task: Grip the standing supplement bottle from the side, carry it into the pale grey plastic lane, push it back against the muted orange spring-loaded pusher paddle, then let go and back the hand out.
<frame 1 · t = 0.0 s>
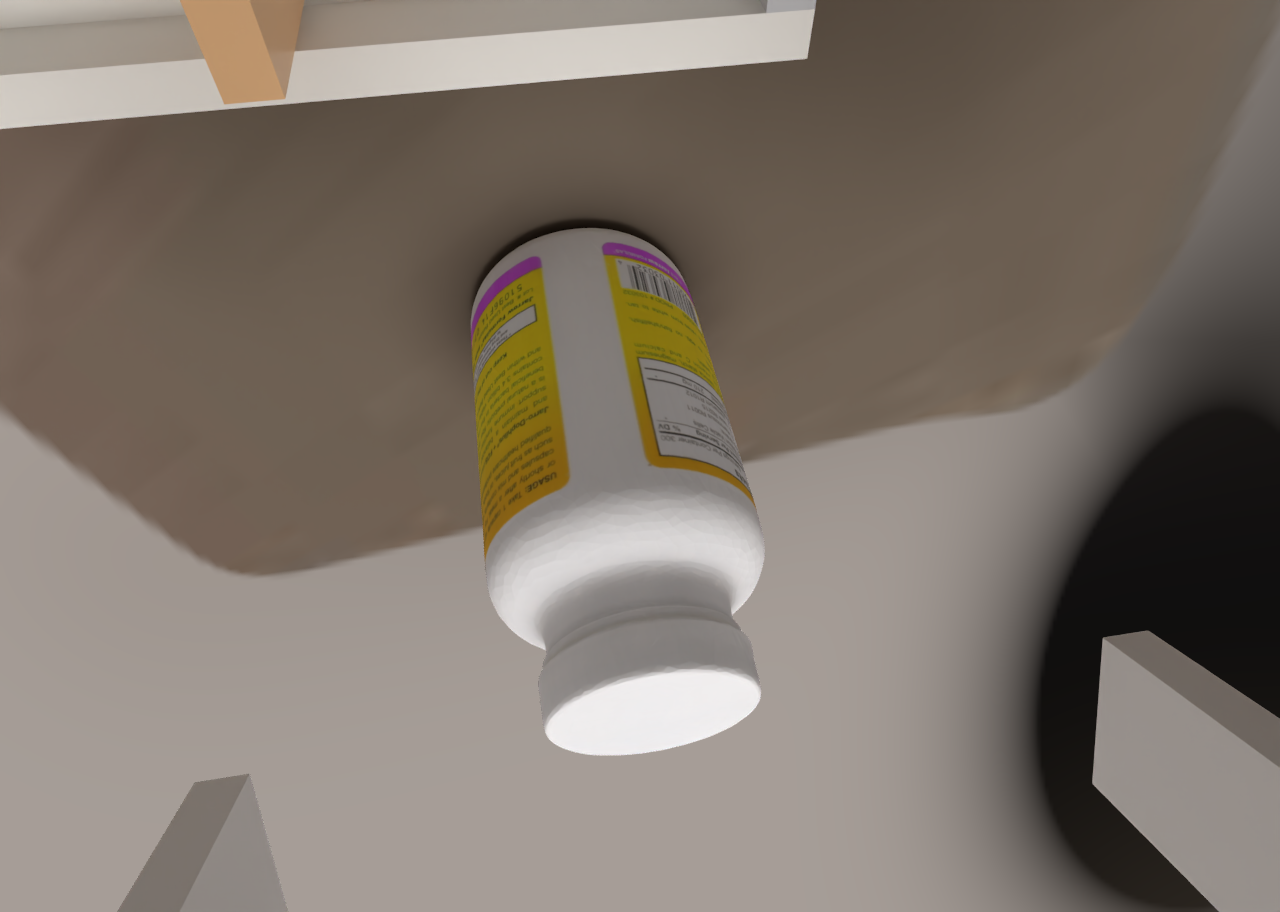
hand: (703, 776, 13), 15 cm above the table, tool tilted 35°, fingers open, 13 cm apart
supplement bottle: (580, 303, 25), on the table
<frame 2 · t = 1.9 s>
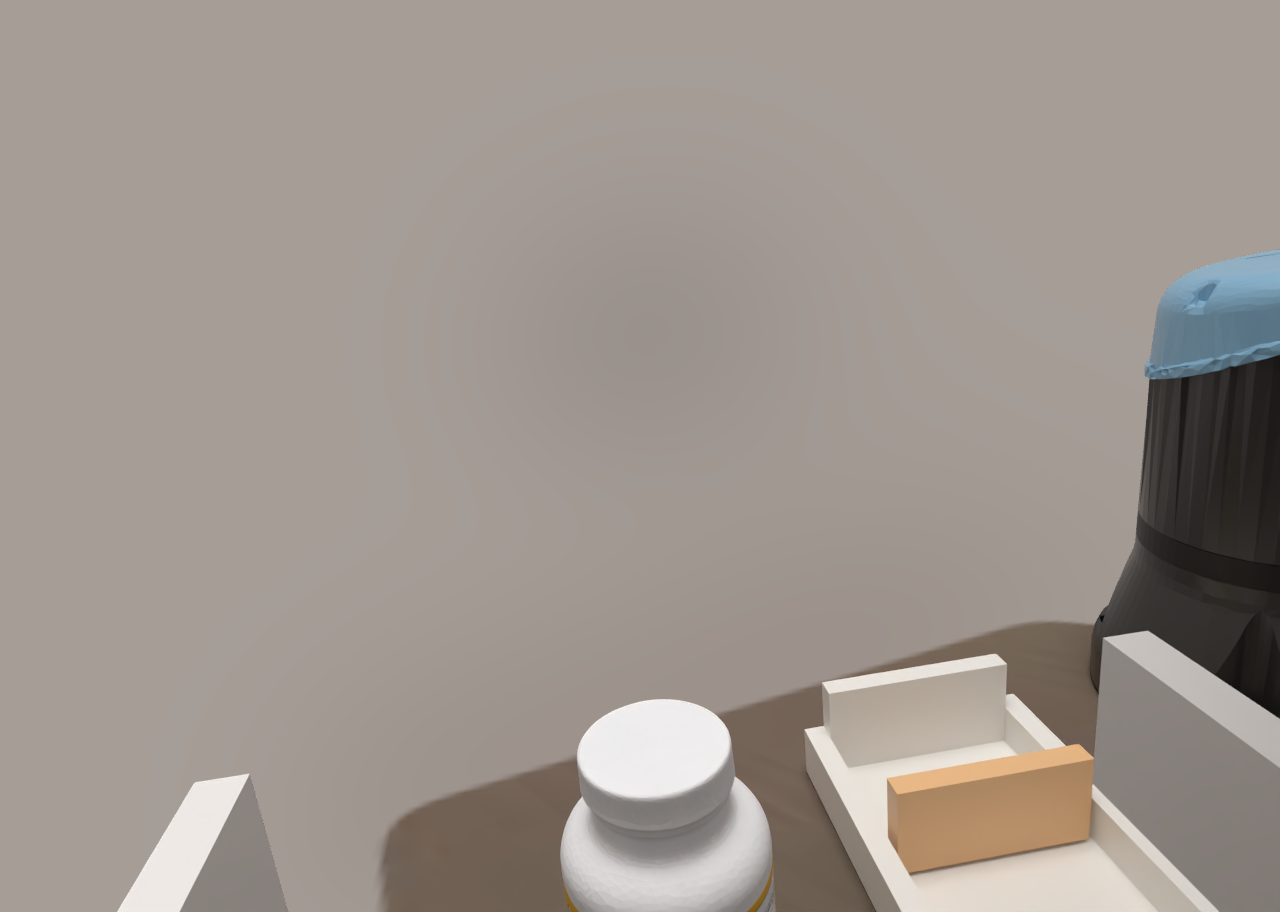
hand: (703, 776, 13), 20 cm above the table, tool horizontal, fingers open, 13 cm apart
lane: (1007, 890, 34), on the table
pusher: (989, 808, 34), point 3 cm above the table, slide at 0.0 cm
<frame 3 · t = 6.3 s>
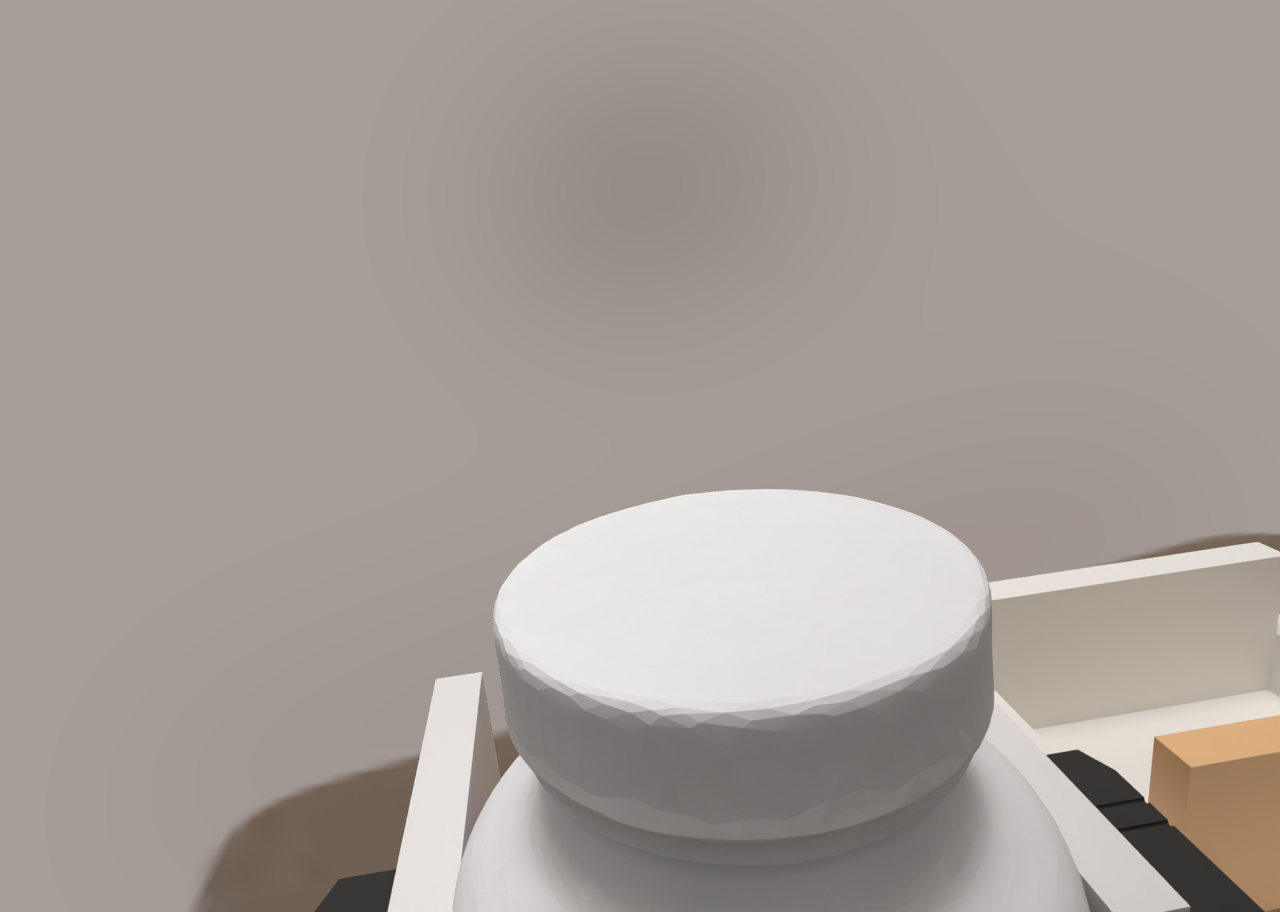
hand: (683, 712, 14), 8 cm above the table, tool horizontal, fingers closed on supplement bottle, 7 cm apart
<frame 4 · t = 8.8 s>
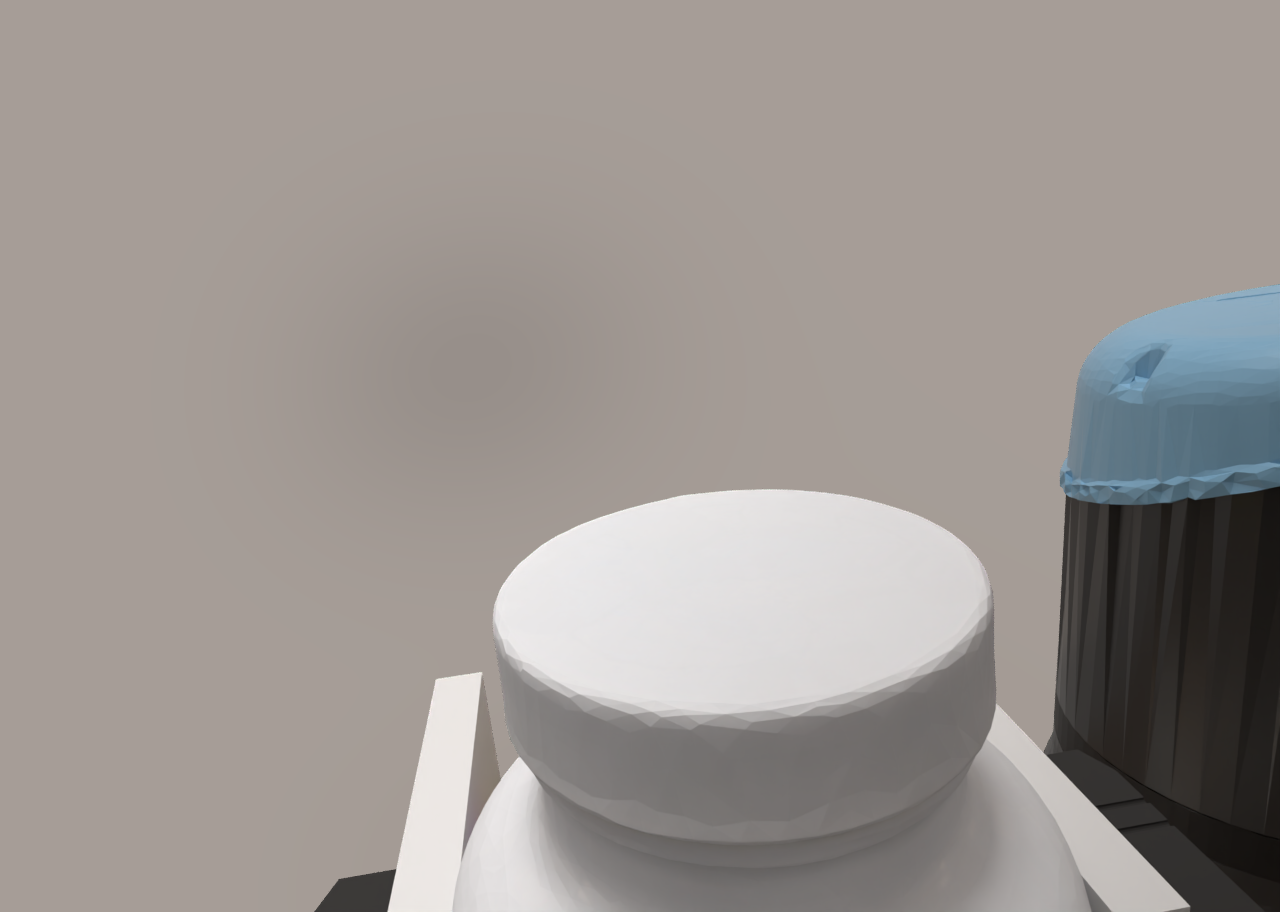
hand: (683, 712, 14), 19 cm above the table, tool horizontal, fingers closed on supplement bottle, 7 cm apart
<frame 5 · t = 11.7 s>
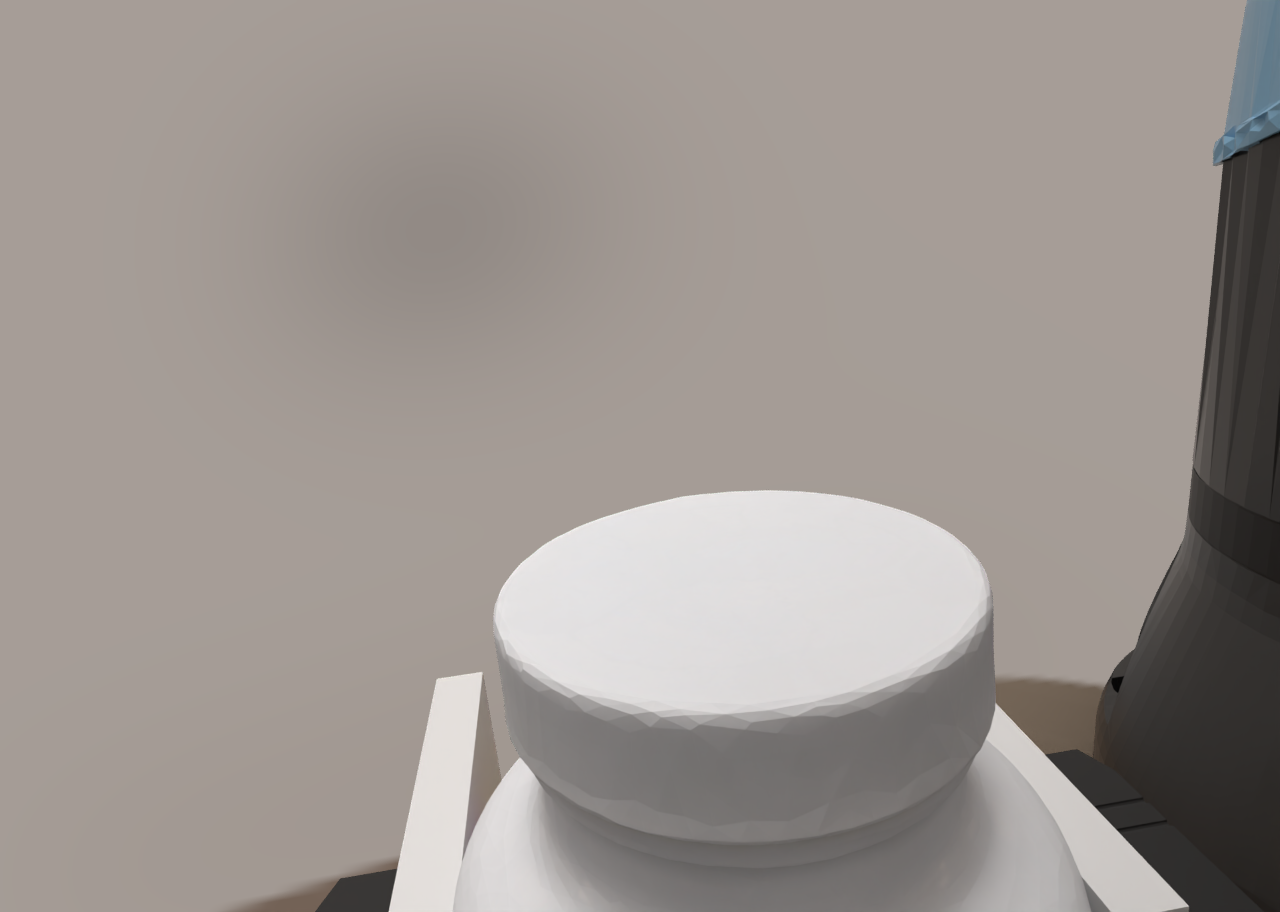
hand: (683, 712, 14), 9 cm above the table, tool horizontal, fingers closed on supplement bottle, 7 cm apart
when the fingers open (9 cm above the table, at t = 11.7 s): supplement bottle stays where it is, resting on lane, pusher.
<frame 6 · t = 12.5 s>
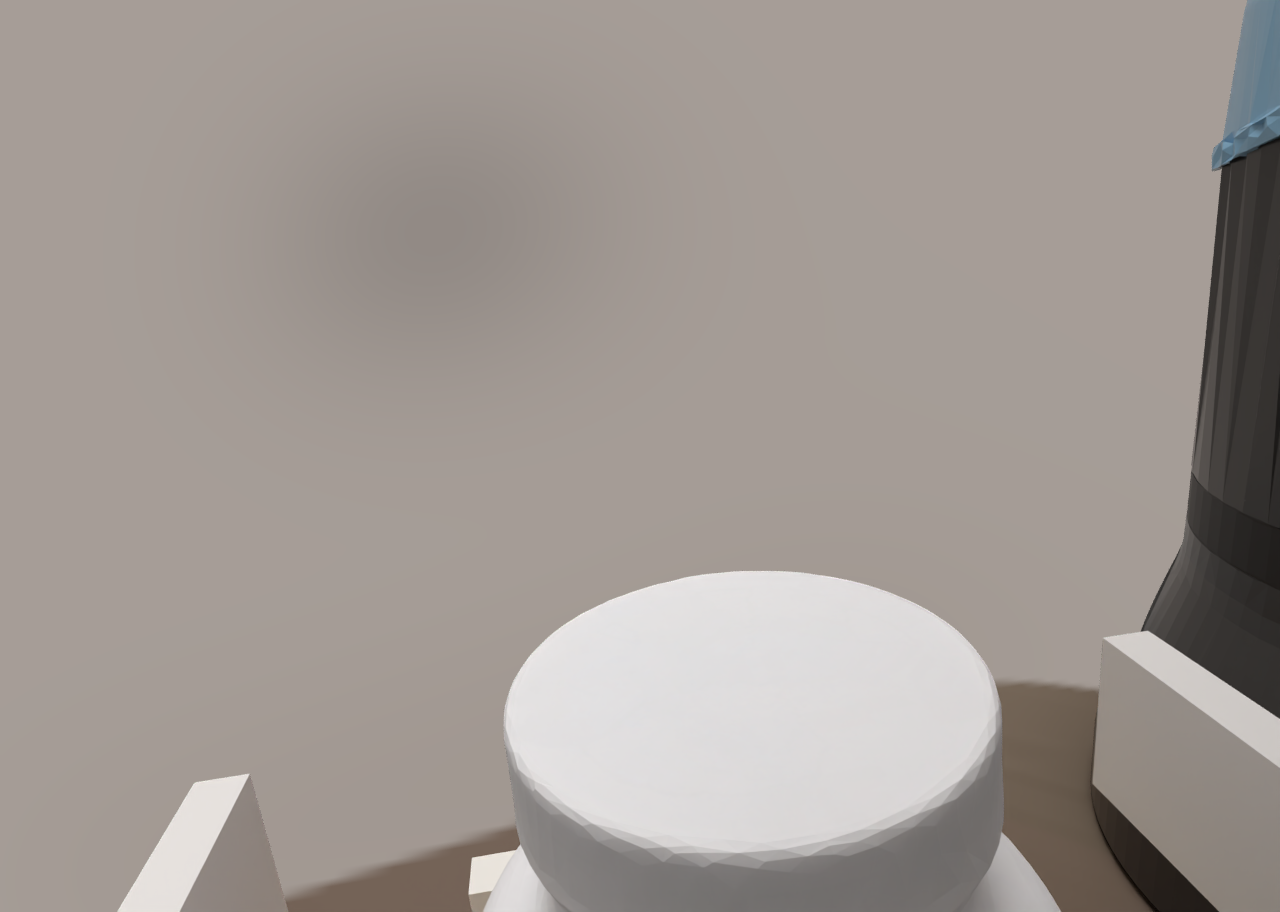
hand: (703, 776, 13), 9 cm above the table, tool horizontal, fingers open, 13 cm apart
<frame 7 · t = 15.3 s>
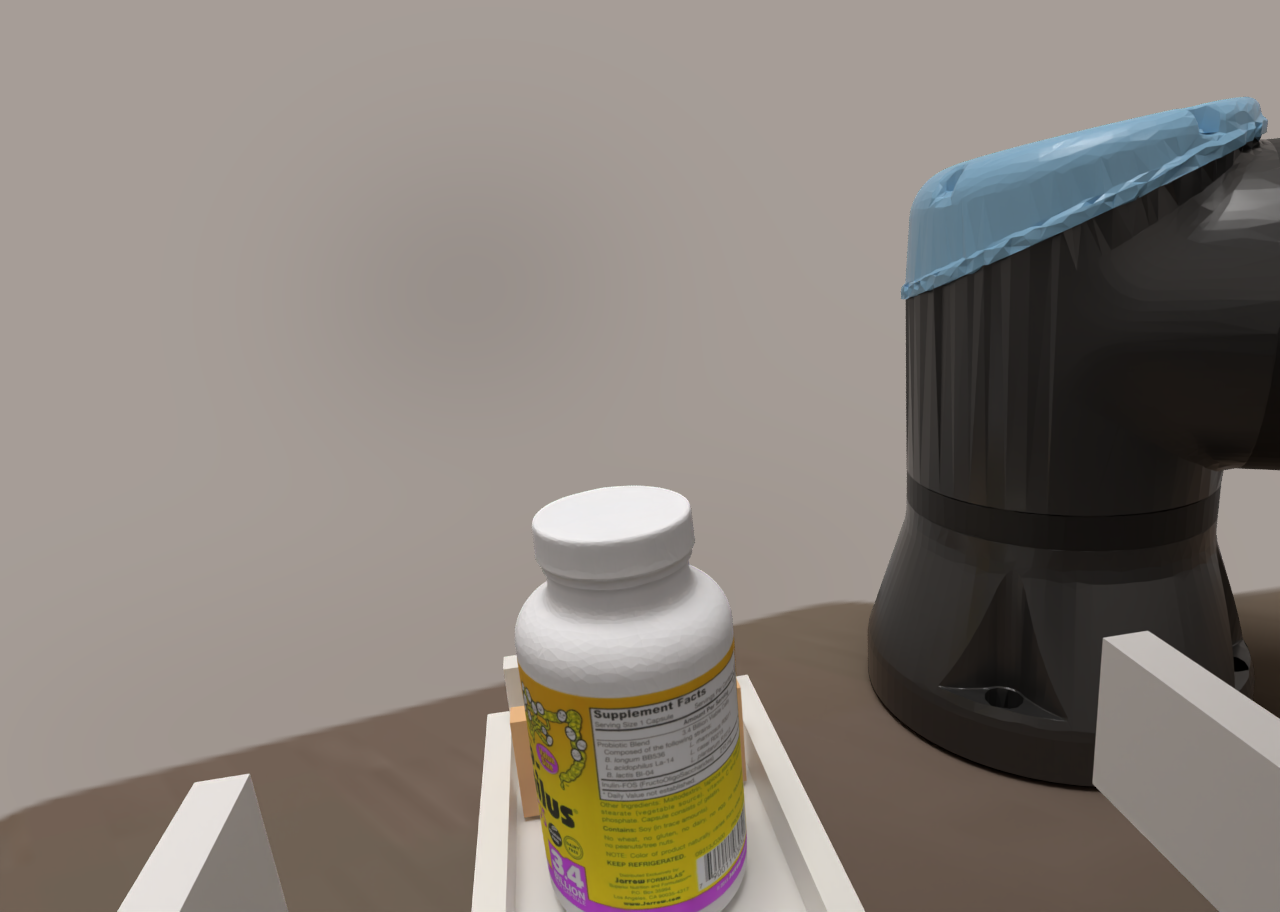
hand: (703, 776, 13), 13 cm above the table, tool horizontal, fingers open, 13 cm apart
supplement bottle: (649, 874, 28), resting on lane, pusher
pusher: (630, 744, 31), point 3 cm above the table, slide at 3.5 cm, touching supplement bottle
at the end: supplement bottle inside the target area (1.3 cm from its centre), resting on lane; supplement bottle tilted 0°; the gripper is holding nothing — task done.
